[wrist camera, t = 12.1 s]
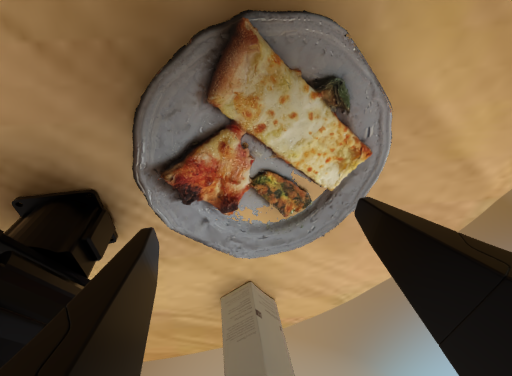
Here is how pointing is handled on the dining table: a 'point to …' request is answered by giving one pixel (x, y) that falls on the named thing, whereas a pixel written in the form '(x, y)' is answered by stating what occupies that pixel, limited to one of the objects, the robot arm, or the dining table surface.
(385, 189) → the dining table surface
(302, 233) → the food plate
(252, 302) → the skincare box
